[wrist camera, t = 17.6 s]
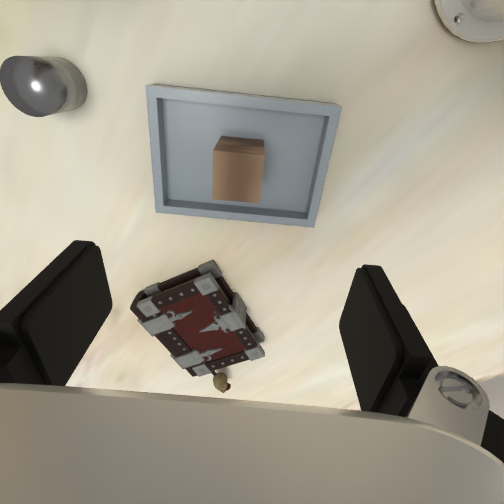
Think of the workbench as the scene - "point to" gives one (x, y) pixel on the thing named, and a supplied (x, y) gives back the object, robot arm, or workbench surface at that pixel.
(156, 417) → the robot arm
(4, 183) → the workbench surface
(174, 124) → the tray
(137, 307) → the book
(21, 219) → the workbench surface
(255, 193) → the walnut block
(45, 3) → the workbench surface
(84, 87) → the metal cylinder
